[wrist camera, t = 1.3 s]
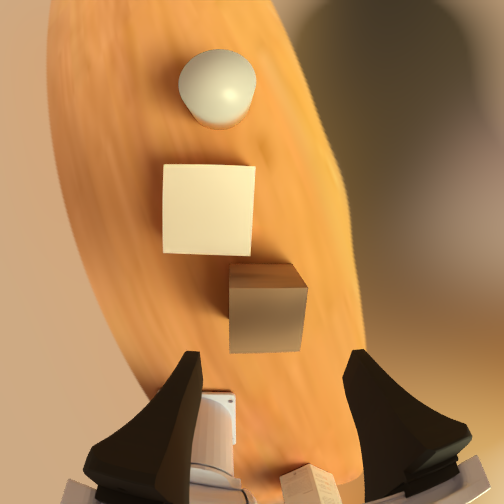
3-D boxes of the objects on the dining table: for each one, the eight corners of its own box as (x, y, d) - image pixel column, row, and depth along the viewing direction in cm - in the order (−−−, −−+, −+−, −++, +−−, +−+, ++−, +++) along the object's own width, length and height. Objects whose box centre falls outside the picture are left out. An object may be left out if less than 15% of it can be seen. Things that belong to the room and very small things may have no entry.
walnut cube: (287, 318, 24) (299, 351, 19) (229, 318, 23) (229, 353, 19) (292, 263, 22) (308, 287, 18) (229, 263, 22) (229, 288, 17)
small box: (278, 475, 32) (288, 530, 22) (309, 462, 31) (325, 518, 21) (304, 486, 34) (316, 533, 24) (333, 473, 33) (349, 521, 23)
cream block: (247, 245, 22) (250, 256, 19) (171, 242, 21) (163, 253, 19) (252, 167, 20) (255, 166, 17) (173, 165, 20) (163, 164, 17)
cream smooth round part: (249, 130, 19) (254, 117, 14) (188, 130, 19) (175, 117, 14) (251, 76, 18) (257, 50, 13) (192, 76, 18) (181, 50, 13)
